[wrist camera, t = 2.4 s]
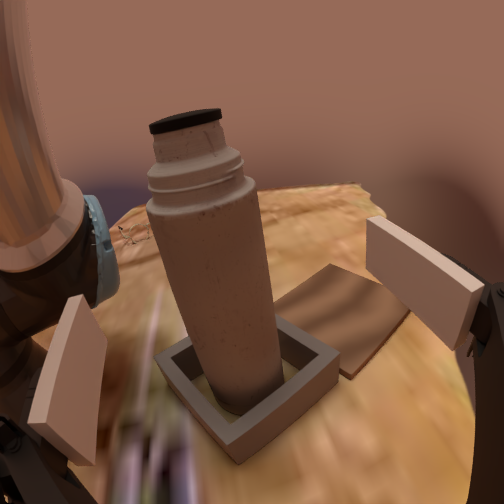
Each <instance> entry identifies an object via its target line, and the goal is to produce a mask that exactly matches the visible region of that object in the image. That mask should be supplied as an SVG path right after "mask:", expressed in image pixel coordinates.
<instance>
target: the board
mask: <svg viewBox="0 0 504 504" xmlns="http://www.w3.org/2000/svg"><path fill="white" fill-rule="evenodd" d="M274 310H275V314H277V315H279V316H280V317H282V318H284V319H285V320H287V321H288V322H290V323H292V324H293V325H295V326H297V327H298V328H300V329H302V330H303V331H305V332H307V333H308V334H310V335H312V336H313V337H315V338H317V339H318V340H320V341H322V342H324V343H325V344H327V345H329V346H330V347H332V348H334V349H336V350H337V351H339V352H341V353H340V366H339V373H340V374H342V375H343V376H345V377H346V378H348V379H350V380H351V379H352V378H353V377H354V376H355V375H356V374H357V373H358V372H359V371H360V370H361V369H362V368H363V367H364V366H365V364H366V363H367V362H368V361H369V360H370V359H371V358H372V357H373V356H374V354H375V353H376V352H377V351H378V350H379V349H380V348H381V347H382V345H383V344H384V343H385V342H386V341H387V340H388V338H389V337H390V336H391V335H392V334H393V332H394V331H395V330H396V329H397V328H398V326H399V325H400V324H401V323H402V321H403V320H404V319H405V318H406V316H407V315H408V314H409V312H410V311H411V310H410V309H409V308H408V307H407V306H406V305H405V304H404V303H403V302H401V301H400V300H399V299H398V298H397V297H396V296H395V295H394V294H393V293H392V292H391V291H390V290H389V289H388V288H386V287H385V286H384V285H381V284H379V283H376V282H374V281H372V280H369V279H367V278H364V277H362V276H359V275H357V274H355V273H352V272H350V271H347V270H345V269H342V268H340V267H337V266H335V265H332V264H328V265H327V266H326V267H324V268H323V269H322V270H320V271H319V272H317V273H316V274H314V275H313V276H312V277H310V278H309V279H307V280H306V281H305V282H303V283H302V284H300V285H299V286H297V287H296V288H294V289H293V290H292V291H290V292H289V293H287V294H286V295H284V296H283V297H281V298H280V299H278V300H277V301H275V302H274Z"/></svg>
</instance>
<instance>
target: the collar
mask: <svg viewBox="0 0 504 504" xmlns="http://www.w3.org/2000/svg"><path fill="white" fill-rule="evenodd" d="M275 317H276V325H277V332H278V339H279V346H280V353H281V357H282V358H283V359H285V360H286V361H287V362H289V363H290V364H292V365H293V366H295V367H296V368H297V369H299V370H300V371H299V372H298V373H297V374H296V375H294V376H293V377H292V378H291V379H290V380H288V381H287V382H286V383H285V384H283V385H282V386H281V387H280V388H278V389H277V390H276V391H275V392H273V393H272V394H271V395H270V396H268V397H267V398H266V399H264V400H263V401H262V402H260V403H259V404H258V405H256V406H255V407H254V408H252V409H251V410H250V411H248V412H247V413H246V414H244V415H243V416H242V417H240V418H239V419H237V420H236V421H235V422H233V423H232V424H230V423H229V422H228V421H227V420H226V419H225V418H224V417H223V416H222V415H221V414H220V413H219V412H218V411H217V410H216V409H215V408H214V407H213V406H212V405H211V404H210V403H209V401H208V400H207V399H206V398H205V397H204V396H203V395H202V394H201V393H200V392H199V390H198V389H197V388H196V387H195V386H194V385H193V384H192V383H191V380H192V379H194V378H196V377H197V376H199V375H200V374H202V373H203V372H204V371H203V369H202V366H201V364H200V361H199V359H198V357H197V354H196V352H195V349H194V347H193V344H192V342H191V339H190V337H189V334H188V337H186V338H184V339H183V340H181V341H179V342H178V343H176V344H174V345H173V346H171V347H169V348H167V349H166V350H164V351H162V352H161V353H159V354H157V355H155V356H154V359H155V361H156V363H157V365H158V367H159V368H160V370H161V372H162V374H163V376H164V377H165V379H166V381H167V383H168V384H169V386H170V387H171V388H172V389H173V391H174V392H175V393H176V395H177V396H178V397H179V398H180V400H181V401H182V402H183V403H184V405H185V406H186V407H187V408H188V409H189V411H190V412H191V413H192V414H193V415H194V417H195V418H196V419H197V420H198V421H199V423H200V424H201V425H202V426H203V427H204V428H205V429H206V431H207V432H208V433H209V434H210V435H211V436H212V437H213V438H214V440H215V441H216V442H217V443H218V444H219V445H220V446H221V447H222V448H223V449H224V450H225V451H226V453H227V454H228V455H229V456H230V457H231V458H232V459H233V460H234V461H235V462H236V463H237V464H238V465H239V464H241V463H242V462H243V461H245V460H246V459H248V458H249V457H250V456H252V455H253V454H254V453H256V452H257V451H258V450H260V449H261V448H262V447H264V446H265V445H266V444H267V443H269V442H270V441H271V440H272V439H274V438H275V437H276V436H277V435H279V434H280V433H281V432H282V431H284V430H285V429H286V428H287V427H288V426H290V425H291V424H292V423H293V422H294V421H296V420H297V419H298V418H299V417H300V416H301V415H302V414H304V413H305V412H306V411H307V410H308V409H309V408H310V407H311V406H313V405H314V404H315V403H316V402H317V401H318V400H319V399H320V398H321V397H322V396H323V395H325V394H326V393H327V392H328V391H329V390H330V389H331V388H332V387H333V386H334V385H335V384H336V383H337V382H338V378H339V366H340V353H341V352H339V351H337V350H336V349H334V348H332V347H330V346H329V345H327V344H325V343H324V342H322V341H320V340H318V339H317V338H315V337H313V336H312V335H310V334H308V333H307V332H305V331H303V330H302V329H300V328H298V327H297V326H295V325H293V324H292V323H290V322H288V321H287V320H285V319H284V318H282V317H280V316H279V315H277V314H275ZM186 330H187V329H186ZM187 333H188V332H187Z"/></svg>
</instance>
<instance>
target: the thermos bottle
mask: <svg viewBox="0 0 504 504" xmlns="http://www.w3.org/2000/svg"><path fill="white" fill-rule="evenodd" d="M221 118H222V114H221V109H219V108H218V109H203V110H195V111H191V112H186V113H181V114H177V115H173V116H170V117H167V118H164V119H161V120H159V121H156V122H154V123H152V124H150V125H149V128H150V133H151V134H153V137H154V143H153V148H154V152H155V156H156V163H155V164H154V165H153V167H152V168H151V169H150V170H149V171H148V173H147V177H148V181H149V185H148V189H149V190H150V191H151V192H152V196H153V197H152V198H151V199H150V200H149V201H148V203H147V205H146V211H147V215H148V218H149V222H150V225H151V228H152V231H153V234H154V237H155V240H156V243H157V245H158V248H159V251H160V254H161V257H162V261H163V264H164V267H165V270H166V274H167V277H168V280H169V283H170V286H171V289H172V292H173V294H174V297H175V300H176V303H177V305H178V308H179V311H180V313H181V316H182V319H183V321H184V324H185V327H186V329H187V332H188V334H189V337H190V339H191V342H192V344H193V347H194V349H195V352H196V354H197V357H198V359H199V361H200V364H201V366H202V369H203V371H204V373H205V376H206V378H207V380H208V383H209V385H210V387H211V389H212V392H213V394H214V396H215V398H216V400H217V402H218V403H219V404H220V406H221V407H222V408H224V409H225V410H227V411H229V412H231V413H234V414H238V415H244V414H246V413H247V412H248V411H250V410H251V409H252V408H254V407H255V406H256V405H258V404H259V403H260V402H262V401H263V400H264V399H266V398H267V397H268V396H270V395H271V394H272V393H273V392H275V391H276V390H277V389H278V388H280V387H281V386H282V385H283V384H284V375H283V368H282V361H281V353H280V346H279V339H278V332H277V325H276V317H275V310H274V303H273V296H272V289H271V282H270V276H269V269H268V262H267V255H266V248H265V242H264V235H263V228H262V222H261V215H260V209H259V202H258V196H257V189H256V184H255V181H254V180H253V179H252V178H250V177H247V176H244V173H243V167H242V166H243V164H244V160H243V159H241V156H240V152H239V151H237V150H235V149H233V148H231V147H229V146H227V145H226V143H225V137H224V132H223V128H222V127H221V126H220V123H219V119H221Z"/></svg>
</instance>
